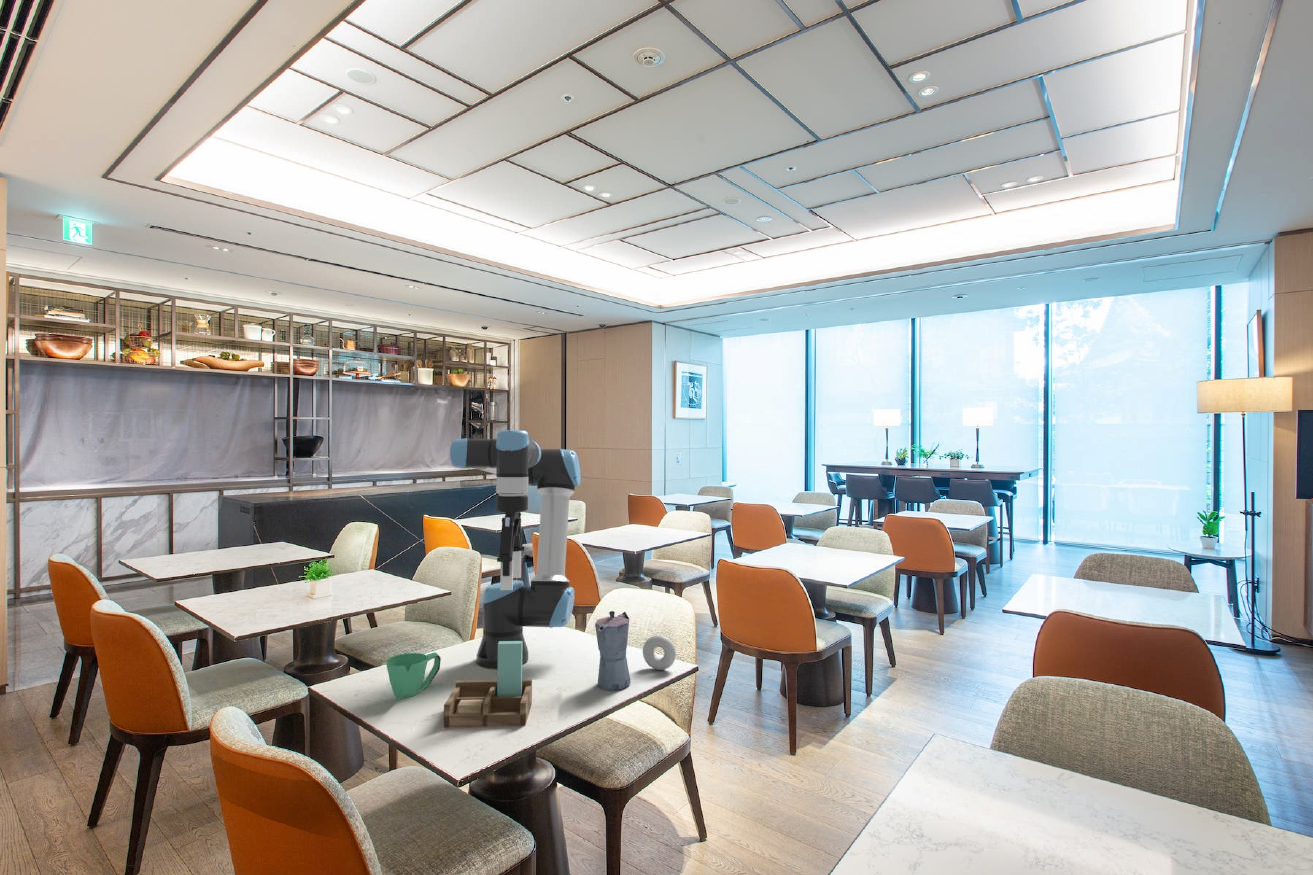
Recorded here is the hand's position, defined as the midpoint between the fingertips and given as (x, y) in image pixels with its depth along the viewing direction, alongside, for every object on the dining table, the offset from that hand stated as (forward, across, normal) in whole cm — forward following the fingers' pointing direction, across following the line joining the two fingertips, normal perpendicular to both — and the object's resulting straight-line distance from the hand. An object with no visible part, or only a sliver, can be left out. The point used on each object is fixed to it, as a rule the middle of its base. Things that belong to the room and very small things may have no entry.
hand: (511, 583), depth 153 cm
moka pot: (+32, -20, +25) cm, 45 cm away
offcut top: (+28, +5, -8) cm, 30 cm away
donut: (+32, -30, +38) cm, 58 cm away
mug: (+32, -14, -26) cm, 43 cm away
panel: (+30, 0, 0) cm, 30 cm away
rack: (+31, +3, -4) cm, 32 cm away
